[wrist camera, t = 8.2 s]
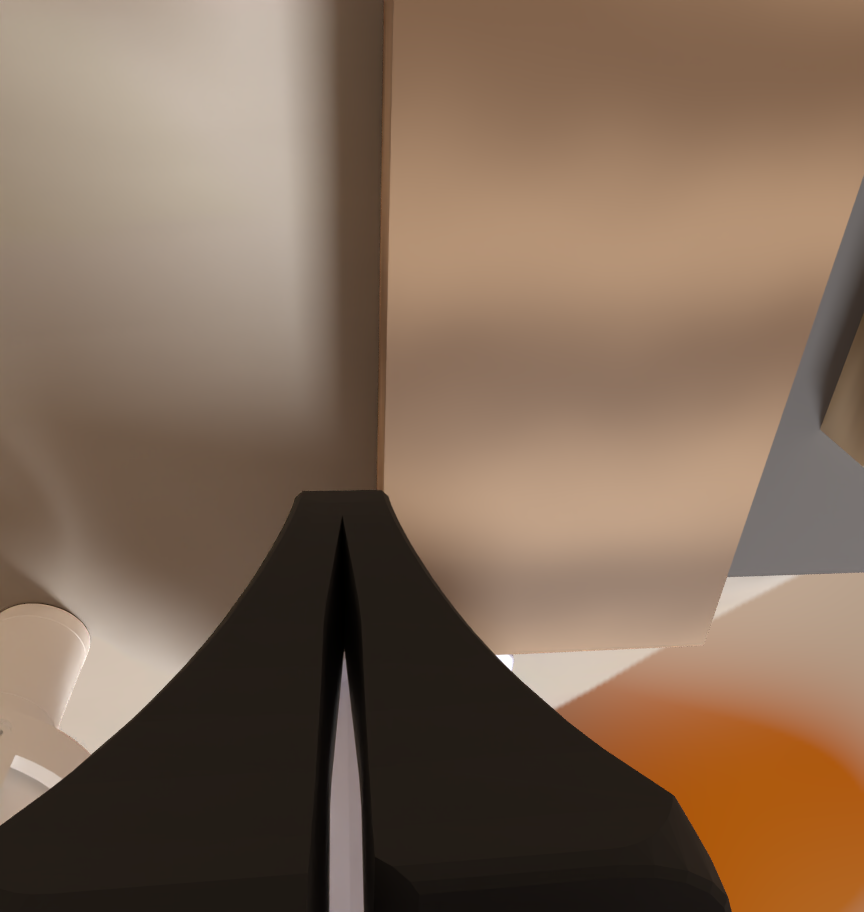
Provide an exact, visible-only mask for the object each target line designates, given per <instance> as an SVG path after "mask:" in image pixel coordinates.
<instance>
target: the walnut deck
mask: <svg viewBox="0 0 864 912" xmlns="http://www.w3.org/2000/svg"><path fill="white" fill-rule="evenodd" d="M863 176H864V0H384V7H383V78H382V149H381V219H380V290H379V361H378V431H377V490H382V491H383V492H384V493H385V494H387V495H388V496H389V500H390V502H391V505H392V507H393V510H394V512H395V514H396V516H397V519H398V521H399V523H400V525H401V527H402V528H403V530H404V532H405V534H406V536H407V538H408V539H409V541H410V543H411V545H412V546H413V548H414V550H415V551H416V553H417V554H418V556H419V558H420V559H421V561H422V562H423V564H424V565H425V567H426V568H427V570H428V571H429V573H430V575H431V576H432V578H433V579H434V580H435V582H436V583H437V585H438V586H439V587H440V589H441V590H442V592H443V593H444V594H445V596H446V597H447V598H448V600H449V601H450V602H451V604H452V605H453V606H454V608H455V609H456V610H457V611H458V613H459V614H460V615H461V616H462V618H463V619H464V620H465V621H466V623H467V624H468V625H469V626H470V627H471V628H472V630H473V631H474V632H475V633H476V634H477V635H478V637H479V638H480V639H481V640H482V641H483V642H484V643H485V644H486V645H487V646H488V647H489V649H490V650H491V651H492V652H493V653H494V654H495V655H508V654H530V653H552V652H573V651H595V650H617V649H638V648H660V647H682V646H703V645H704V643H705V640H706V637H707V634H708V631H709V628H710V625H711V622H712V619H713V616H714V614H715V611H716V608H717V605H718V602H719V599H720V596H721V593H722V590H723V587H724V584H725V581H726V578H727V575H728V572H729V569H730V567H731V564H732V561H733V558H734V555H735V552H736V549H737V546H738V543H739V540H740V537H741V534H742V531H743V528H744V525H745V523H746V520H747V517H748V514H749V511H750V508H751V505H752V502H753V499H754V496H755V493H756V490H757V487H758V484H759V481H760V478H761V476H762V473H763V470H764V467H765V464H766V461H767V458H768V455H769V452H770V449H771V446H772V443H773V440H774V437H775V434H776V431H777V429H778V426H779V423H780V420H781V417H782V414H783V411H784V408H785V405H786V402H787V399H788V396H789V393H790V390H791V387H792V384H793V382H794V379H795V376H796V373H797V370H798V367H799V364H800V361H801V358H802V355H803V352H804V349H805V346H806V343H807V340H808V338H809V335H810V332H811V329H812V326H813V323H814V320H815V317H816V314H817V311H818V308H819V305H820V302H821V299H822V296H823V293H824V291H825V288H826V285H827V282H828V279H829V276H830V273H831V270H832V267H833V264H834V261H835V258H836V255H837V252H838V249H839V246H840V244H841V241H842V238H843V235H844V232H845V229H846V226H847V223H848V220H849V217H850V214H851V211H852V208H853V205H854V202H855V199H856V197H857V194H858V191H859V188H860V185H861V182H862V179H863Z"/></svg>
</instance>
